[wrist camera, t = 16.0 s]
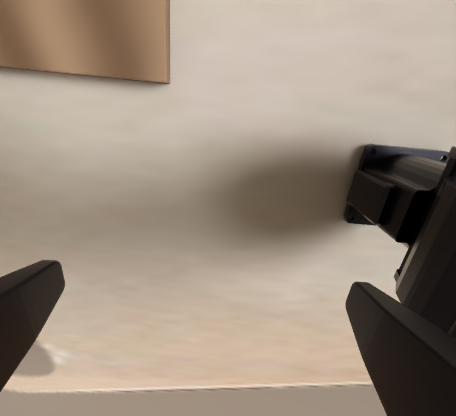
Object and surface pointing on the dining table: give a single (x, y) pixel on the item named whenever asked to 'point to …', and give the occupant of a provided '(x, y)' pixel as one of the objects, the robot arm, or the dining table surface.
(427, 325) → the robot arm
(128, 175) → the dining table surface
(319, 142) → the dining table surface
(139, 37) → the base board
